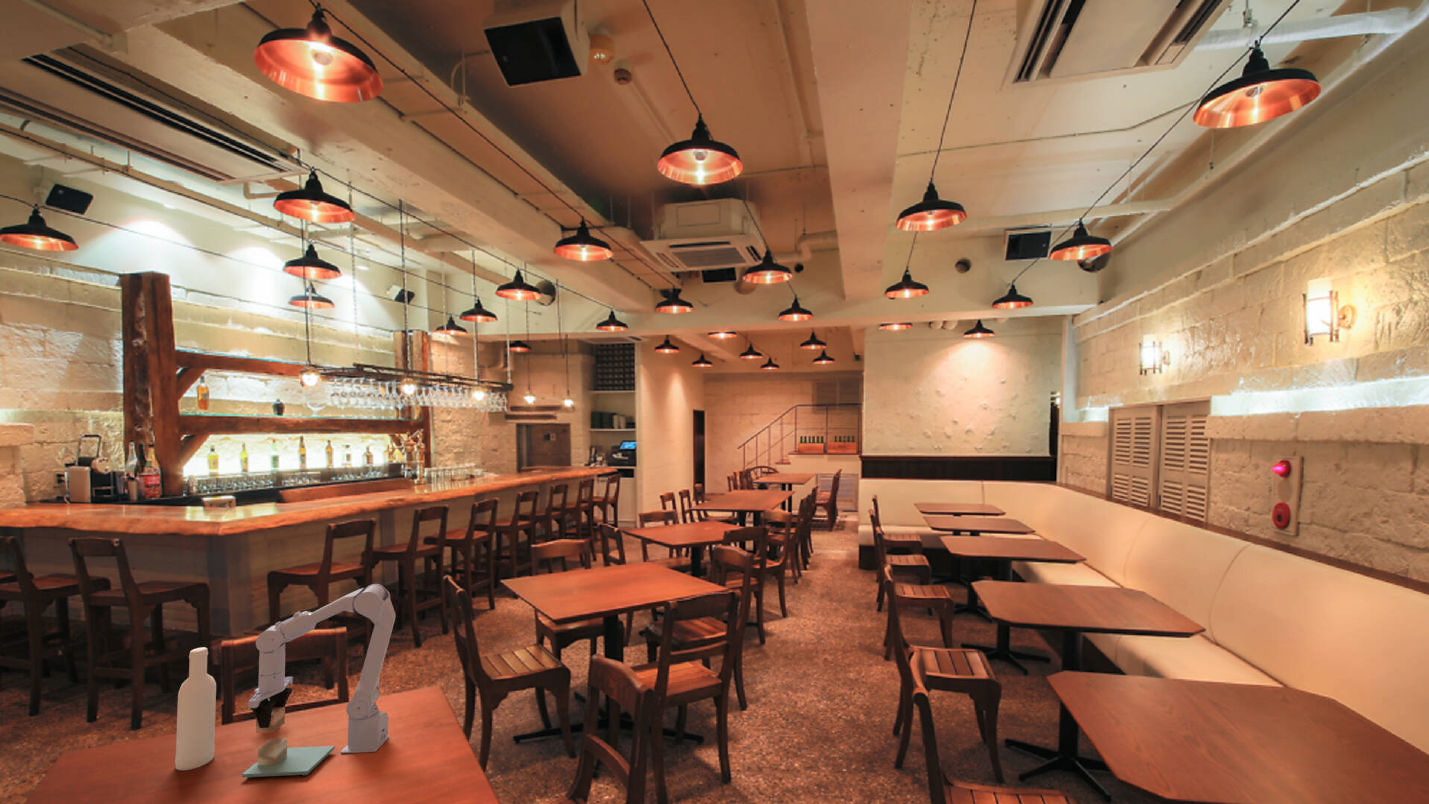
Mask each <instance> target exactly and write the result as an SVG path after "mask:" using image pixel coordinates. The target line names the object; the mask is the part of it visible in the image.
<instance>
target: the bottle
mask: <svg viewBox="0 0 1429 804" xmlns="http://www.w3.org/2000/svg"><path fill="white" fill-rule="evenodd" d="M208 655H209V651H208V648H207V647H197V648H194V649H191V650H190V652H189V656H188V659H189V666H188V667H189V668H188V669H189V671H188V677H187V679H185V680H184V681H183V682H182V683H181V686H180V688H179V690H178V693H177V709H176V710H177V711H176V712H177V717H176V741H175V742H176V745H175V759H174V760H175V761H174V763H175V769H176V771H177V770H178V771H189V770H194V769H197V768H201V767H202V766H205V765H206V764H209V763H210V762H211V761H212V760H213V759H214V757H215V747H216V746H215V738H216V737H215V733H216V732H215V730H216V729H215V728H216V704H217V703H216V701H217V699H216V697H217V682H216V680H215V678H214V677H213V676H212V675H210V674H209V673H208Z"/></svg>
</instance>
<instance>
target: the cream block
mask: <svg viewBox="0 0 1429 804" xmlns="http://www.w3.org/2000/svg"><path fill="white" fill-rule="evenodd" d="M287 748H288V737H283V738H282V737H280V738H279V737H278V738H269V739H268V740H266V741H265V742H263V743H262V744H261V745H260V746H258V747H257V762H258V765H276V764H277V763H278V762H279V761H281V760H282V759H283V758H284V757H285V756H286V755H287Z"/></svg>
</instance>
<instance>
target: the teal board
mask: <svg viewBox="0 0 1429 804" xmlns="http://www.w3.org/2000/svg"><path fill="white" fill-rule="evenodd" d="M335 747H336V746H335V745H328V746H327V745H325V746H323V745H322V746H304V747H303V746H302V747H287V755H286V756H285V757H284V758H283V759H282V760H281V761H279V762H278V763H277V764H276V765H258V761H257V762H256V763H254V764H253V765H252V766H251V767H249V768H248V769H247V770H245V771H244V772H243V773H242V774H241V778H246V779H247V780H251V779H252V778H257V777H277V776H278V777H280V776H299V775H302V778H303V777H304V778H305V777H307V776H308V775H309V774H310V773H311V772H312V771H313V770H314V769H315V768H316V767H317V766H318V765H319V764H320V763H322V761H323V760H324V759H326V758H327V757H328V756H329V755H330V754H331V753H332V752H333V751H334V750H335Z"/></svg>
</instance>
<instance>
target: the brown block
mask: <svg viewBox="0 0 1429 804" xmlns="http://www.w3.org/2000/svg"><path fill="white" fill-rule="evenodd" d="M285 715H286V706H285V707H274V708H273V709H272V713H271V721H270V725H269V727H268V728H260V727H259V724H258V721H257V718H256V717H255V734H259V733H261V734H263V733H274V732H275V731H277V730H278V729H280V728H281V727H282V726H283V725H285V722H286V721H285V719H286V716H285Z"/></svg>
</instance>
